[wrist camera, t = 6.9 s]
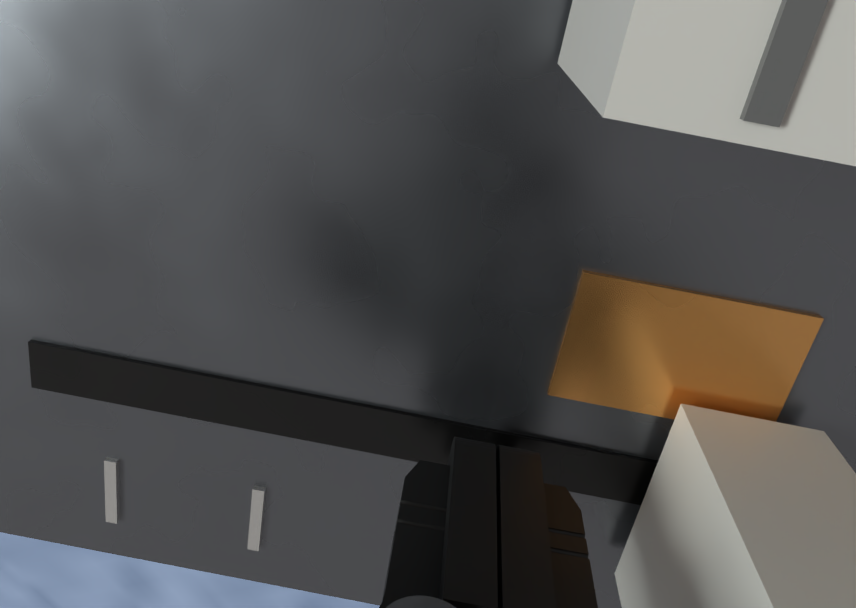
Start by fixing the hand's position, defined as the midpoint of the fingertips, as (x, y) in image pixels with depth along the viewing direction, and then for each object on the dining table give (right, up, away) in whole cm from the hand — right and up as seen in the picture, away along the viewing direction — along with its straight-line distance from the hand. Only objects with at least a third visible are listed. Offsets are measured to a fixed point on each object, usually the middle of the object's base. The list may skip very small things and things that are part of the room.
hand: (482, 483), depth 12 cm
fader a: (+4, -1, +1) cm, 4 cm away
